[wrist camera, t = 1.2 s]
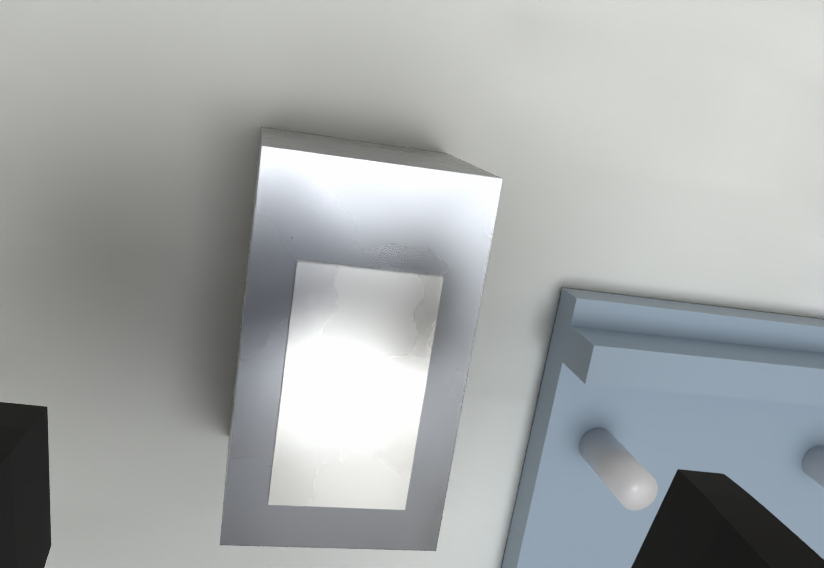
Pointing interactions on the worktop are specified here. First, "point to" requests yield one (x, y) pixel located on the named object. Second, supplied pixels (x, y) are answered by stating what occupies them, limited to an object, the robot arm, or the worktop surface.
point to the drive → (354, 342)
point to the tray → (666, 423)
